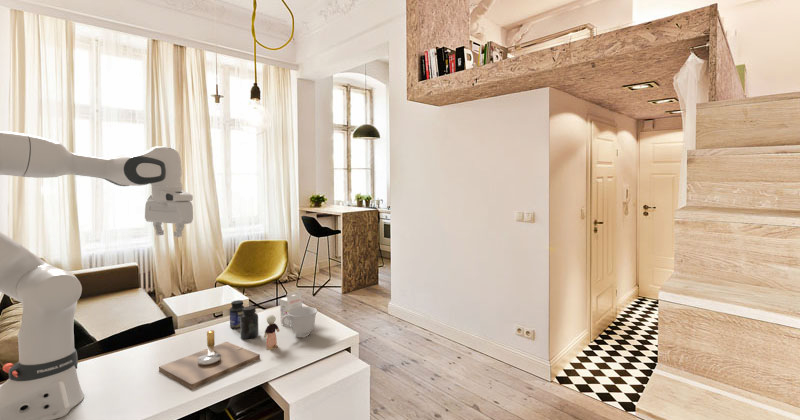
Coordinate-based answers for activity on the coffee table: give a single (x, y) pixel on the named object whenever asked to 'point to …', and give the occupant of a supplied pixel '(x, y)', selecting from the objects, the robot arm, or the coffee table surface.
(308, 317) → the teacup
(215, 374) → the base plate
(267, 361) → the coffee table surface
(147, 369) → the coffee table surface
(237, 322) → the pill bottle
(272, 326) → the grandmother figurine
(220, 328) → the coffee table surface
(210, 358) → the lever
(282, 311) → the ink cartridge box
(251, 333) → the supplement bottle
